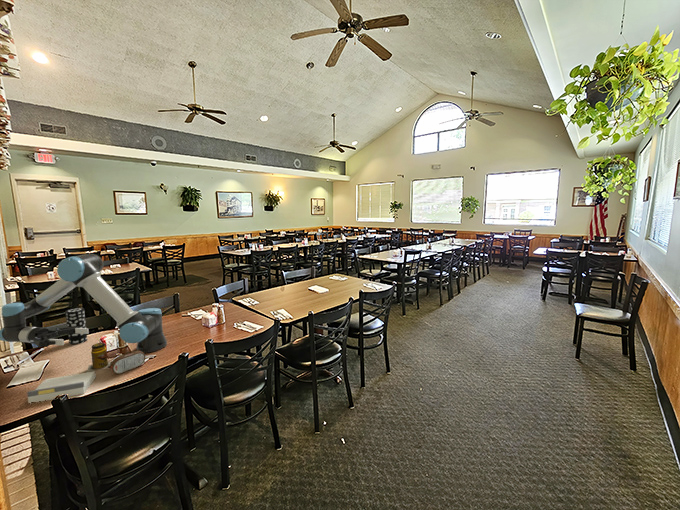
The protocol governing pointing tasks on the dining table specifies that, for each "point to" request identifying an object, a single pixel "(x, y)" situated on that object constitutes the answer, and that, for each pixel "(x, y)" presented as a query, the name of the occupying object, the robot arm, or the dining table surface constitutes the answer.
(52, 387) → the grey striped flat slab
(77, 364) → the dining table surface
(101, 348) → the condiment
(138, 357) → the brown grey oval slab
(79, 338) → the spotted tube
